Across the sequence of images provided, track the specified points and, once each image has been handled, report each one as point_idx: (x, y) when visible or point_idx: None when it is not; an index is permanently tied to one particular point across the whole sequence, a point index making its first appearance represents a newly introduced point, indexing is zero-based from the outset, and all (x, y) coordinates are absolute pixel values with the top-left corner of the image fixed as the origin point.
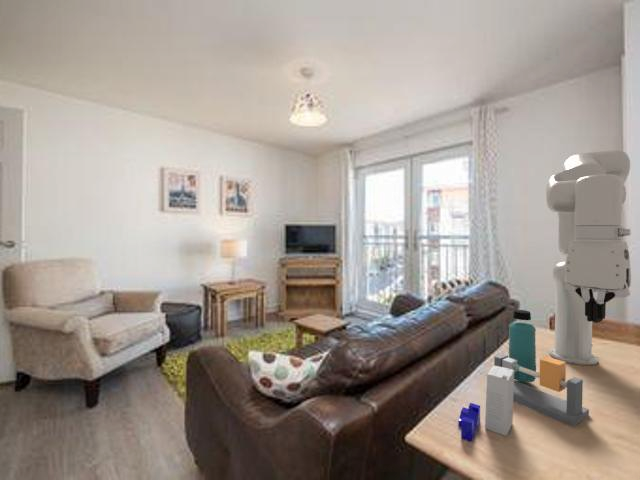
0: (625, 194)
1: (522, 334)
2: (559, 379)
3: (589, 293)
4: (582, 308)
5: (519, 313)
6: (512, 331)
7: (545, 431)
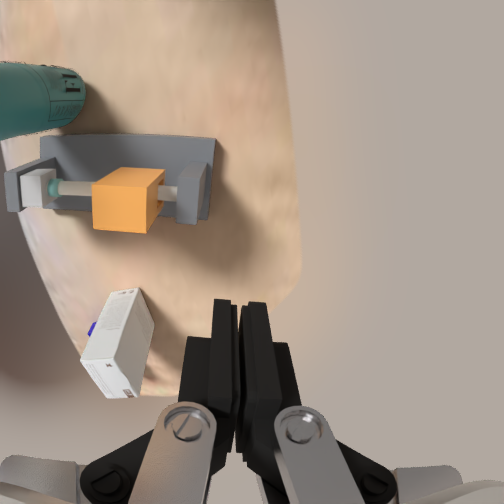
0: None
1: None
2: (156, 215)
3: (178, 473)
4: None
5: None
6: None
7: (182, 267)
